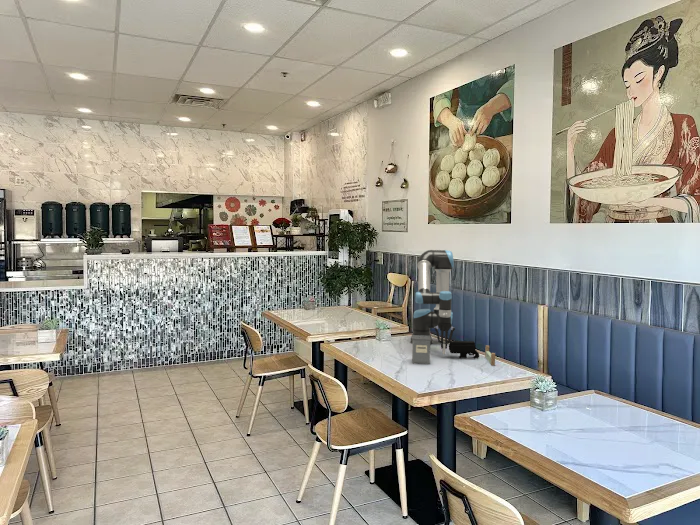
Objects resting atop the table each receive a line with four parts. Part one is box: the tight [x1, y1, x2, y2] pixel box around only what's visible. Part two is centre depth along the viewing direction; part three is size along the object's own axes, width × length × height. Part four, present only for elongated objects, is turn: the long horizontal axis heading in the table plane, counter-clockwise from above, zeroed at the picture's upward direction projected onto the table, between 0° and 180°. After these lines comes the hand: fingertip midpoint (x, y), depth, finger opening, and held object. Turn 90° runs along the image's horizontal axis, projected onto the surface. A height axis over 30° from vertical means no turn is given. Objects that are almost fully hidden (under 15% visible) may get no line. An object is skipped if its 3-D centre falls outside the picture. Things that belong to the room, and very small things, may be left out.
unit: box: [411, 334, 431, 365], centre depth 314 cm, size 11×11×15 cm
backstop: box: [484, 345, 496, 367], centre depth 317 cm, size 21×2×7 cm, turn 175°
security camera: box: [448, 340, 480, 359], centre depth 324 cm, size 7×18×10 cm, turn 89°
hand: (443, 353), depth 325 cm, fingers closed
